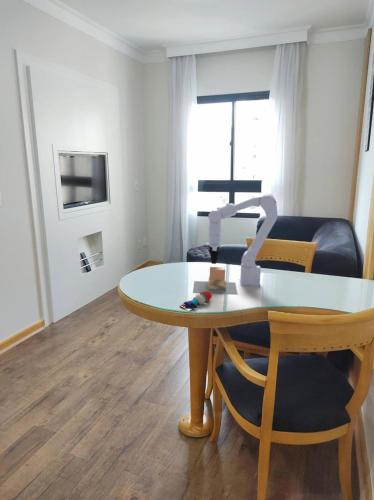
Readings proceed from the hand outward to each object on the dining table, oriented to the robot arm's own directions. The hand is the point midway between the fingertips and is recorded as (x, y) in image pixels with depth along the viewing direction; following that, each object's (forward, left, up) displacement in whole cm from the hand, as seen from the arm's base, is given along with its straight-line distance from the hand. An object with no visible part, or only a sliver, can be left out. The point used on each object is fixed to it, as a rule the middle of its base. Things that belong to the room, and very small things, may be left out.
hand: (213, 261), depth 178 cm
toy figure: (+7, +32, -10) cm, 35 cm away
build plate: (-1, +12, -10) cm, 16 cm away
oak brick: (-2, +11, -9) cm, 15 cm away
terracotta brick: (-2, +11, -5) cm, 13 cm away
